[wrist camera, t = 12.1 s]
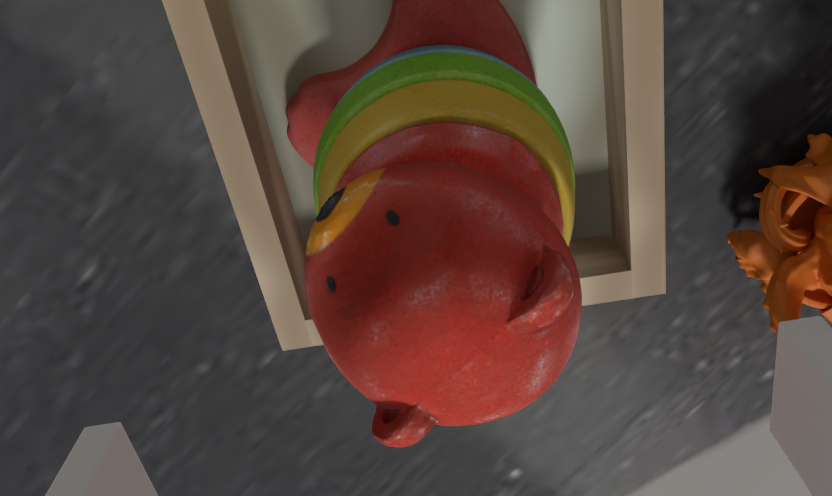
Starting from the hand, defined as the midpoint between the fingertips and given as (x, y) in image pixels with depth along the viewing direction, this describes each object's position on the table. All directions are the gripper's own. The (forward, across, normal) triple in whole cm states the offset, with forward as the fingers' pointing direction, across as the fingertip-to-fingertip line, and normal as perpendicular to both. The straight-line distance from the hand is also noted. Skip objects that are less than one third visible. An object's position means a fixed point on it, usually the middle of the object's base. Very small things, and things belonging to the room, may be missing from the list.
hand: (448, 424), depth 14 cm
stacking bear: (+20, 0, 0) cm, 20 cm away
